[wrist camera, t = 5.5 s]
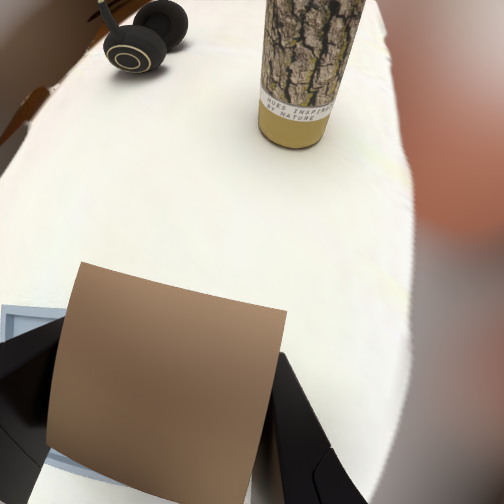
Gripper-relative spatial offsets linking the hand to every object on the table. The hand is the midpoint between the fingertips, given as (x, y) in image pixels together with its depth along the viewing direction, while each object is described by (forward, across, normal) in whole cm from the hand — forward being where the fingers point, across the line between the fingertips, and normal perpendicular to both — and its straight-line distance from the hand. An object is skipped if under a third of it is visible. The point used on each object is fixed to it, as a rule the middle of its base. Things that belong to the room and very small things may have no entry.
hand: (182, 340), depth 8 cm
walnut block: (+4, 0, +6) cm, 7 cm away
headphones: (+33, +18, -14) cm, 40 cm away
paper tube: (+25, -2, -6) cm, 26 cm away
